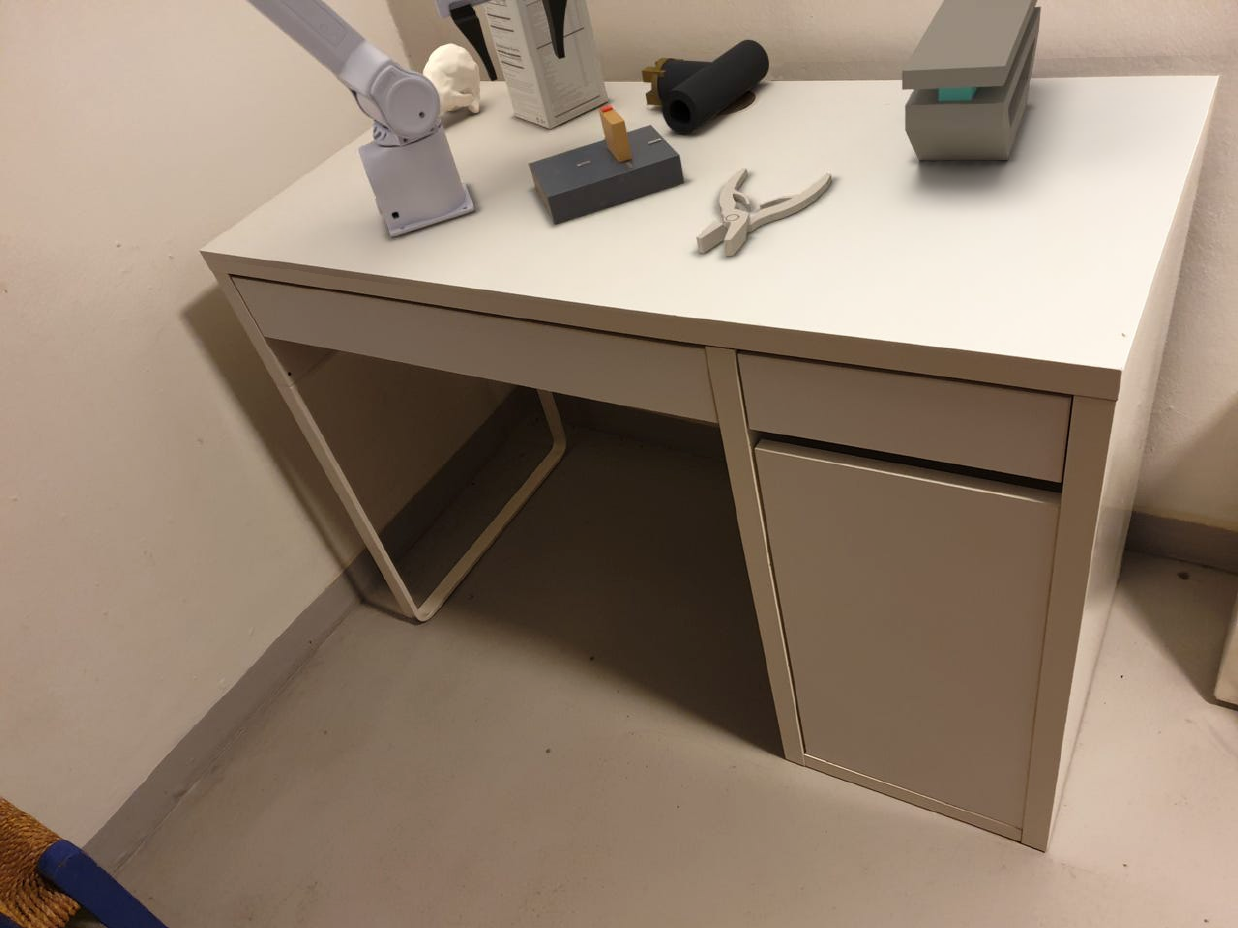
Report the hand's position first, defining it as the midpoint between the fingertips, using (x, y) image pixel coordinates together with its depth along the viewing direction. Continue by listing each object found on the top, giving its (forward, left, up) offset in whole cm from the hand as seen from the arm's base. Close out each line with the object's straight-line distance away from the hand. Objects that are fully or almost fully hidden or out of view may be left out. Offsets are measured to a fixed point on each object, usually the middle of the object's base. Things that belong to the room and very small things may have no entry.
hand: (526, 67), depth 98 cm
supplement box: (+5, +15, -11) cm, 19 cm away
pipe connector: (+19, +2, -11) cm, 22 cm away
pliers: (+14, -28, -11) cm, 33 cm away
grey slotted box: (+37, -27, -11) cm, 47 cm away
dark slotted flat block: (+4, -12, -10) cm, 16 cm away
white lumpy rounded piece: (-9, +24, -11) cm, 28 cm away
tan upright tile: (+6, -12, -7) cm, 15 cm away
